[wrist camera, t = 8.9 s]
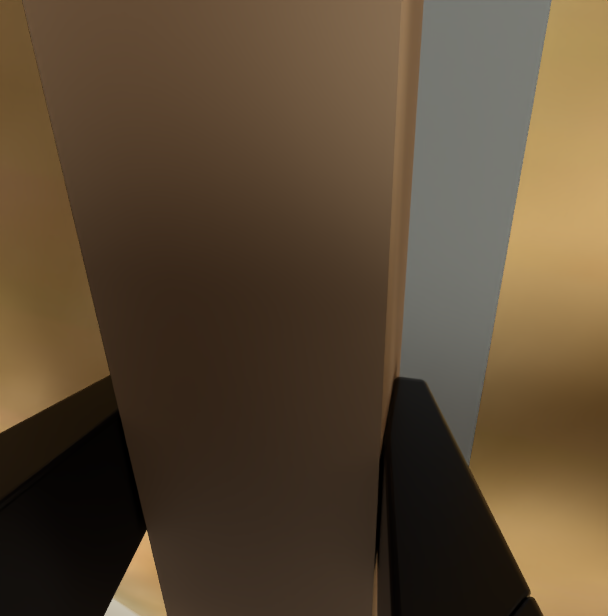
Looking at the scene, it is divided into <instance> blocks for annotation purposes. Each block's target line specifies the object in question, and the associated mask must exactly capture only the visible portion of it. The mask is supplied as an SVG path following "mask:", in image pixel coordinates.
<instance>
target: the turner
mask: <svg viewBox="0 0 608 616" xmlns="http://www.w3.org/2000/svg"><path fill="white" fill-rule="evenodd" d="M22 2H23V6H24V11H25V15H26V19H27V23H28V28H29V32H30V36H31V40H32V45H33V49H34V53H35V57H36V61H37V66H38V70H39V74H40V78H41V83H42V87H43V91H44V95H45V100H46V104H47V108H48V112H49V117H50V121H51V125H52V129H53V134H54V138H55V142H56V146H57V150H58V155H59V159H60V163H61V167H62V172H63V176H64V180H65V184H66V189H67V193H68V197H69V201H70V206H71V210H72V214H73V218H74V222H75V227H76V231H77V235H78V239H79V244H80V248H81V252H82V256H83V261H84V265H85V269H86V273H87V278H88V282H89V286H90V290H91V295H92V299H93V303H94V307H95V311H96V316H97V320H98V324H99V328H100V333H101V337H102V341H103V345H104V350H105V354H106V358H107V362H108V367H109V371H110V375H111V379H112V383H113V388H114V392H115V396H116V400H117V405H118V409H119V413H120V417H121V422H122V426H123V430H124V434H125V439H126V443H127V447H128V451H129V456H130V460H131V464H132V468H133V472H134V477H135V481H136V485H137V489H138V494H139V498H140V502H141V506H142V511H143V515H144V519H145V523H146V528H147V532H148V536H149V540H150V544H151V549H152V553H153V557H154V561H155V566H156V570H157V574H158V578H159V583H160V587H161V591H162V595H163V600H164V604H165V608H166V612H167V616H377V548H378V530H379V512H380V494H381V476H382V458H383V440H384V432H385V426H386V421H387V416H388V410H389V405H390V400H391V394H392V389H393V384H394V380H395V379H396V378H397V377H399V375H400V360H401V344H402V329H403V314H404V298H405V283H406V267H407V252H408V236H409V221H410V206H411V190H412V175H413V159H414V144H415V128H416V113H417V98H418V82H419V67H420V51H421V36H422V20H423V5H424V0H22Z"/></svg>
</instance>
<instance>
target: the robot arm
mask: <svg viewBox="0 0 608 616" xmlns="http://www.w3.org/2000/svg"><path fill="white" fill-rule="evenodd" d="M146 530H147V528H146V523H145V519H144V515H143V511H142V506H141V502H140V498H139V494H138V489H137V485H136V481H135V477H134V472H133V468H132V464H131V460H130V456H129V451H128V447H127V443H126V439H125V434H124V430H123V426H122V422H121V417H120V413H119V409H118V405H117V400H116V396H115V392H114V388H113V383H112V379H111V375H109V376H107V377H105V378H103V379H101V380H100V381H98V382H96V383H94V384H92V385H90V386H88V387H86V388H84V389H83V390H81V391H79V392H77V393H75V394H73V395H71V396H69V397H67V398H66V399H64V400H62V401H60V402H58V403H56V404H54V405H52V406H50V407H49V408H47V409H45V410H43V411H41V412H39V413H37V414H35V415H34V416H32V417H30V418H28V419H26V420H24V421H22V422H20V423H18V424H17V425H15V426H13V427H11V428H9V429H7V430H5V431H3V432H1V433H0V616H104V615H105V613H106V611H107V608H108V606H109V604H110V602H111V600H112V598H113V596H114V594H115V592H116V590H117V588H118V586H119V584H120V582H121V580H122V578H123V576H124V574H125V572H126V570H127V568H128V566H129V564H130V562H131V560H132V558H133V556H134V554H135V552H136V550H137V548H138V546H139V544H140V542H141V540H142V538H143V536H144V534H145V532H146ZM530 594H531V591H530V589H529V587H528V585H527V583H526V581H525V579H524V577H523V575H522V573H521V571H520V569H519V567H518V565H517V563H516V561H515V559H514V557H513V555H512V553H511V551H510V549H509V547H508V545H507V543H506V541H505V539H504V537H503V535H502V533H501V531H500V529H499V527H498V525H497V523H496V521H495V519H494V517H493V515H492V513H491V511H490V509H489V507H488V505H487V503H486V501H485V499H484V497H483V495H482V493H481V491H480V489H479V486H478V484H477V482H476V480H475V478H474V476H473V474H472V472H471V470H470V468H469V466H468V464H467V462H466V460H465V458H464V456H463V454H462V452H461V450H460V448H459V446H458V444H457V442H456V440H455V438H454V436H453V434H452V432H451V430H450V428H449V426H448V424H447V422H446V420H445V418H444V416H443V414H442V412H441V410H440V408H439V406H438V404H437V402H436V400H435V398H434V396H433V394H432V392H431V390H430V388H429V386H428V384H427V383H426V382H425V381H424V380H422V379H417V378H409V377H397V378H396V379H395V380H394V384H393V389H392V394H391V400H390V405H389V410H388V416H387V421H386V426H385V432H384V440H383V458H382V476H381V494H380V512H379V530H378V548H377V616H543V614H542V612H541V610H540V608H539V606H538V604H537V602H536V600H535V599H534V598H533V597H530Z"/></svg>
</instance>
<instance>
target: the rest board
mask: <svg viewBox="0 0 608 616" xmlns="http://www.w3.org/2000/svg"><path fill="white" fill-rule="evenodd" d="M550 6H551V0H424V5H423V20H422V36H421V51H420V67H419V82H418V98H417V113H416V128H415V144H414V159H413V175H412V190H411V206H410V221H409V236H408V252H407V267H406V283H405V298H404V314H403V329H402V344H401V360H400V375H399V377H409V378H417V379H422V380H424V381H425V382H426V383H427V384H428V386H429V388H430V390H431V392H432V394H433V396H434V398H435V400H436V402H437V404H438V406H439V408H440V410H441V412H442V414H443V416H444V418H445V420H446V422H447V424H448V426H449V428H450V430H451V432H452V434H453V436H454V438H455V440H456V442H457V444H458V446H459V448H460V450H461V452H462V454H463V456H464V458H465V460H466V462H467V464H468V466H469V463H470V457H471V451H472V446H473V440H474V434H475V429H476V423H477V417H478V412H479V406H480V401H481V395H482V389H483V384H484V378H485V372H486V367H487V361H488V355H489V350H490V344H491V338H492V333H493V327H494V322H495V316H496V310H497V305H498V299H499V293H500V288H501V282H502V276H503V271H504V265H505V259H506V254H507V248H508V243H509V237H510V231H511V226H512V220H513V214H514V209H515V203H516V197H517V192H518V186H519V181H520V175H521V169H522V164H523V158H524V152H525V147H526V141H527V135H528V130H529V124H530V118H531V113H532V107H533V102H534V96H535V90H536V85H537V79H538V73H539V68H540V62H541V56H542V51H543V45H544V39H545V34H546V28H547V23H548V17H549V11H550Z"/></svg>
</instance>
